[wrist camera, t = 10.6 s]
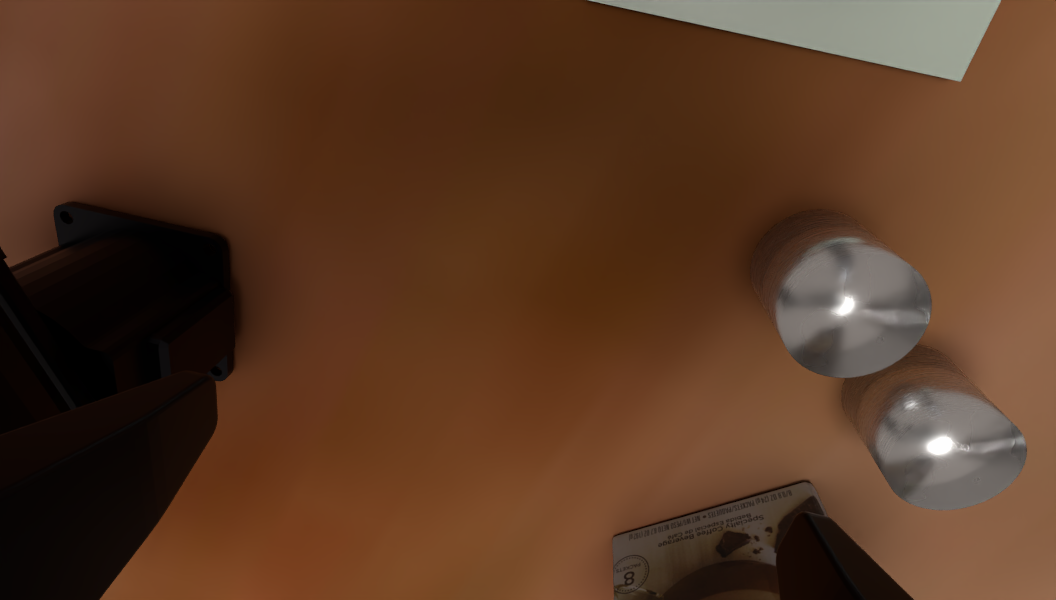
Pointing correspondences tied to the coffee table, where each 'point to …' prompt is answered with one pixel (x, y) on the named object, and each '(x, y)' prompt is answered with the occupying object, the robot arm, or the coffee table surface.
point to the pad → (849, 27)
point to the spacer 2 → (934, 432)
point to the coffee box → (711, 550)
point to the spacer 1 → (838, 294)
